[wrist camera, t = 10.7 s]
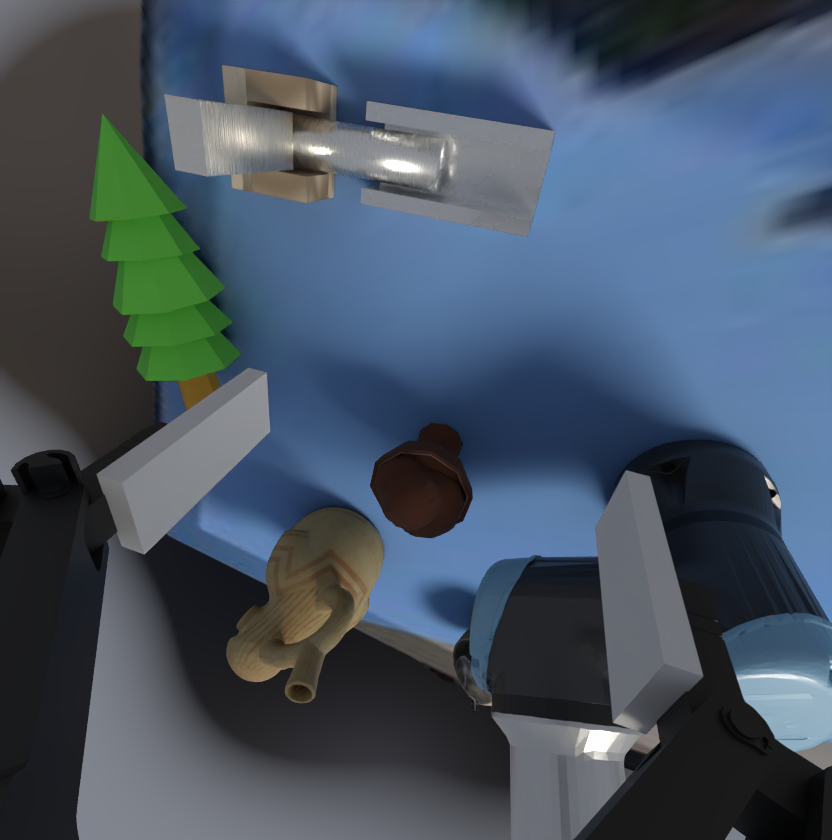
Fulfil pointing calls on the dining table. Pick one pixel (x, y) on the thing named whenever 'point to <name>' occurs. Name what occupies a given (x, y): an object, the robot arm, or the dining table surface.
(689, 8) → the dining table surface
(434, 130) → the channel
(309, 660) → the ceramic vessel
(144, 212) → the decorative tree
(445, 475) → the ice cream bowl
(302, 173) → the socket
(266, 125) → the shiny silver metal piece
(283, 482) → the dining table surface
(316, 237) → the dining table surface
